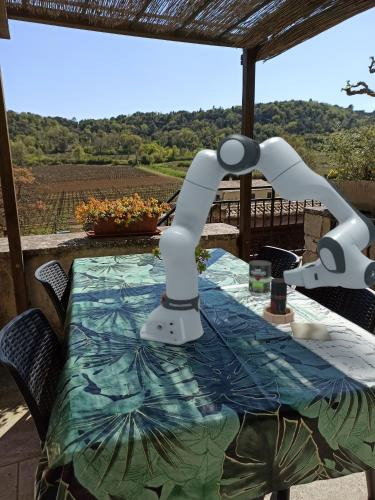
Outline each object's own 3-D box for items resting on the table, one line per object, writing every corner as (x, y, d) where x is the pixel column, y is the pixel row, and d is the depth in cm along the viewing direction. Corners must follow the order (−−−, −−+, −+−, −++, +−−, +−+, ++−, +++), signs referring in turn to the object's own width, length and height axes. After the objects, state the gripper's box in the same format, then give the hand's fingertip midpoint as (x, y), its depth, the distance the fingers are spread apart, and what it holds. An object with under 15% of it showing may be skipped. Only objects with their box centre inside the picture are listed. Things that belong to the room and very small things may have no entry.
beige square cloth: (294, 338, 114) (294, 337, 114) (290, 323, 126) (290, 322, 126) (332, 340, 112) (332, 339, 112) (324, 325, 124) (324, 323, 124)
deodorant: (286, 321, 128) (288, 283, 125) (270, 320, 129) (271, 282, 126) (285, 315, 134) (286, 278, 130) (269, 314, 135) (270, 277, 132)
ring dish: (264, 322, 127) (264, 315, 126) (262, 311, 138) (262, 304, 137) (294, 324, 125) (294, 316, 125) (290, 312, 136) (291, 305, 135)
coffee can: (268, 296, 155) (269, 266, 152) (246, 293, 159) (246, 264, 156) (272, 289, 164) (273, 260, 161) (250, 287, 168) (251, 259, 165)
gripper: (347, 253, 111) (315, 253, 123) (301, 270, 102) (271, 268, 115) (351, 272, 111) (318, 270, 124) (305, 290, 103) (275, 286, 115)
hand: (295, 269), depth 119 cm, fingers open, 8 cm apart
